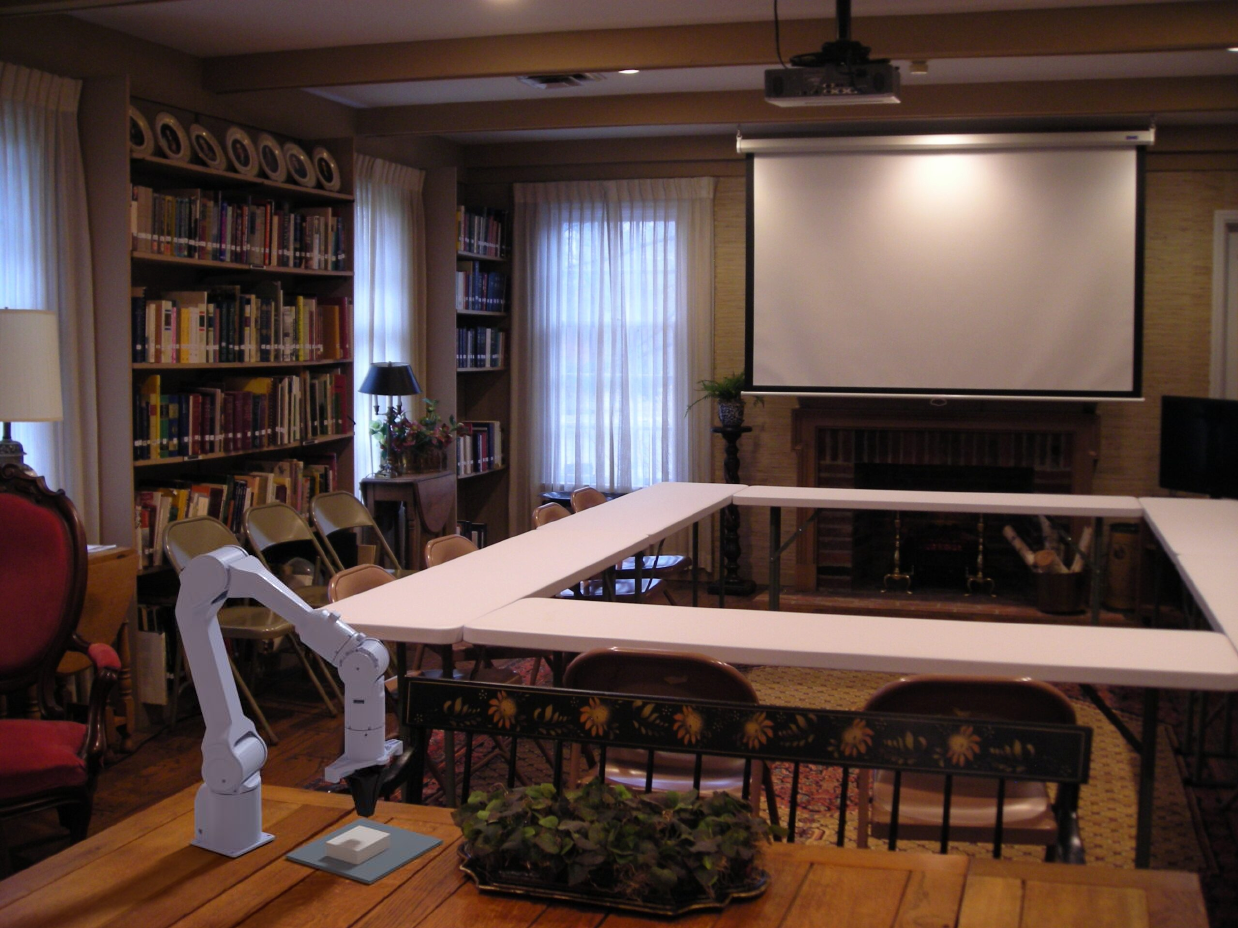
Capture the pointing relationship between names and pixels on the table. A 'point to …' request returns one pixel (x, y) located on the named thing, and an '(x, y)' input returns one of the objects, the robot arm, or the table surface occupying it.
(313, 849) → the mat
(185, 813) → the table surface
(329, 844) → the block
